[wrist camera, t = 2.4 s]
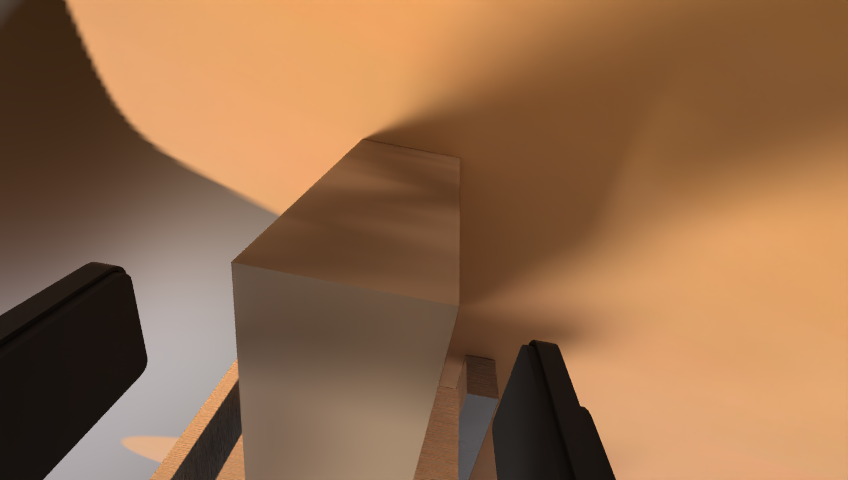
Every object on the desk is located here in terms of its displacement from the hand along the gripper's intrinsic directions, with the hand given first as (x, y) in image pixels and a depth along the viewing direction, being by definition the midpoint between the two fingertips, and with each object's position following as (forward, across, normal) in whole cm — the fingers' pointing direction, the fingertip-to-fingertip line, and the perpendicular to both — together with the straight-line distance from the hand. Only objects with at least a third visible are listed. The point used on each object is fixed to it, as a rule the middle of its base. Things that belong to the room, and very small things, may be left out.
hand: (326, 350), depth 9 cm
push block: (+8, -1, +1) cm, 9 cm away
